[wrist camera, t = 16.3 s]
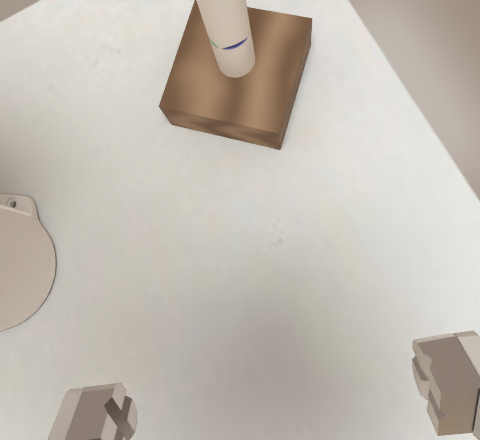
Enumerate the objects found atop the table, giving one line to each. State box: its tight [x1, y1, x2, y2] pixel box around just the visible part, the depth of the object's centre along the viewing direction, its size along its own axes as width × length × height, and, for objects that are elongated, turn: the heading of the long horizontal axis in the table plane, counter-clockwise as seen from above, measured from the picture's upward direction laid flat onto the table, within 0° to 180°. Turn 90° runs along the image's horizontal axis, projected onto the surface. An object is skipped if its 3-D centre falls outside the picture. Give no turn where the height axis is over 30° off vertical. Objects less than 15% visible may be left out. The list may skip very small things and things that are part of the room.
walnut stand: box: [159, 0, 312, 150], centre depth 49 cm, size 14×14×5 cm
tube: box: [196, 0, 255, 78], centre depth 39 cm, size 4×4×15 cm
